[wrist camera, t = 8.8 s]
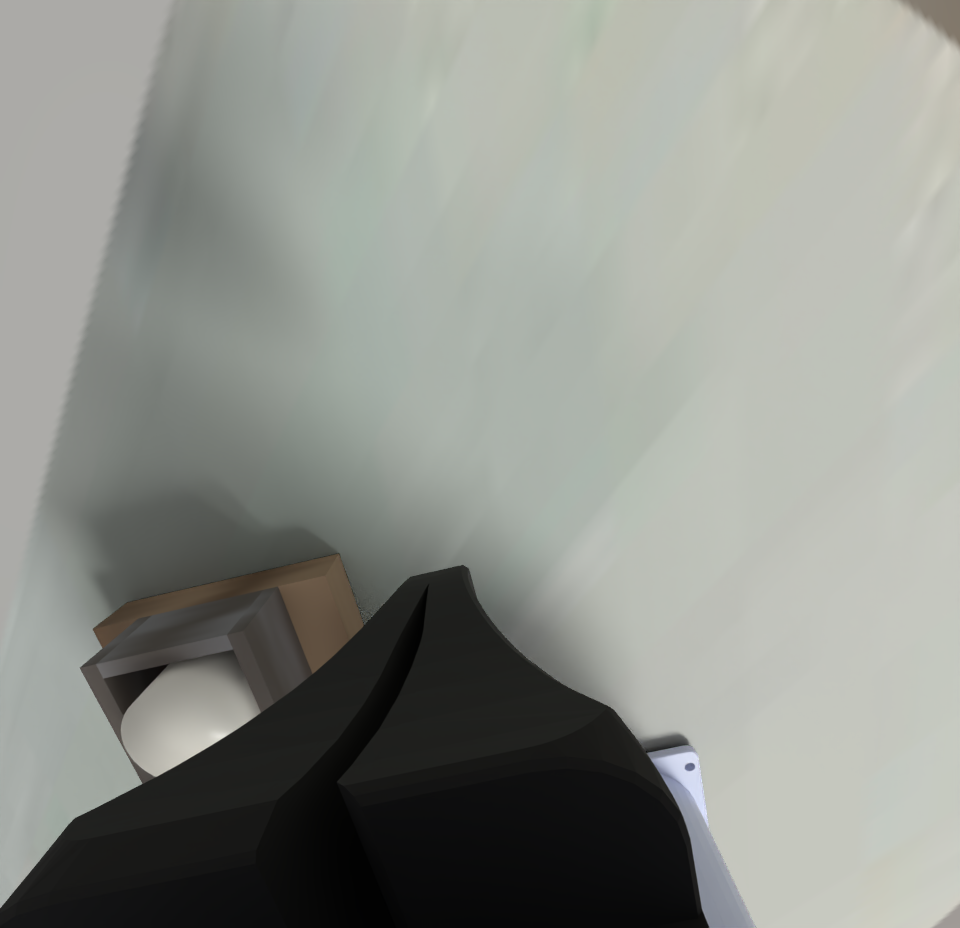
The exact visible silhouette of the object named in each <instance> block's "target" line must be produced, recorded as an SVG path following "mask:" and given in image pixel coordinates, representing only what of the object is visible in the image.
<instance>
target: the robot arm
mask: <svg viewBox="0 0 960 928" xmlns="http://www.w3.org/2000/svg"><path fill="white" fill-rule="evenodd" d="M688 763H689V764H688ZM0 928H756V926H755V924H754V922H753V920H752V918H751V916H750V913H749V911H748V909H747V907H746V905H745V903H744V901H743V899H742V897H741V895H740V893H739V891H738V888H737V886H736V884H735V882H734V880H733V878H732V876H731V874H730V872H729V870H728V868H727V866H726V863H725V861H724V859H723V857H722V855H721V853H720V851H719V849H718V847H717V845H716V843H715V841H714V838H713V836H712V834H711V832H710V830H709V825H708V818H707V811H706V805H705V798H704V791H703V785H702V778H701V771H700V765H699V758H698V755H697V753H696V751H695V749H694V748H693V747H692V746H689V745H684V746H679V747H674V748H669V749H664V750H659V751H654V752H649V753H646V752H645V750H644V749H643V748H642V746H641V745H640V743H639V742H638V741H637V739H636V738H635V736H634V735H633V734H632V733H631V731H630V730H629V729H628V727H627V726H626V725H625V723H624V722H623V721H622V720H621V718H620V717H619V716H618V715H617V713H616V712H615V711H614V710H613V709H612V708H610V707H608V706H607V705H604V704H602V703H600V702H598V701H596V700H594V699H591V698H589V697H587V696H585V695H583V694H580V693H578V692H576V691H574V690H572V689H570V688H568V687H567V686H565V685H563V684H562V683H560V682H558V681H557V680H555V679H554V678H552V677H551V676H550V675H548V674H547V673H546V672H544V671H543V670H542V669H540V668H539V667H538V666H536V665H535V664H534V663H532V662H531V661H530V660H528V659H527V658H526V657H525V656H524V655H523V654H522V653H520V652H519V651H518V650H517V649H516V648H515V647H514V646H513V645H512V644H511V643H510V642H509V641H508V640H507V639H506V638H505V637H504V636H503V634H502V633H501V632H500V631H499V630H498V629H497V627H496V626H495V625H494V624H493V622H492V621H491V620H490V618H489V617H488V616H487V614H486V613H485V611H484V610H483V608H482V606H481V605H480V603H479V601H478V600H477V597H476V593H475V590H474V586H473V582H472V579H471V575H470V571H469V569H468V568H467V567H465V566H464V565H461V566H456V567H452V568H448V569H443V570H439V571H434V572H430V573H426V574H421V575H417V576H412V577H410V578H409V579H407V580H406V581H405V582H404V583H403V584H402V585H401V586H400V587H399V588H398V589H397V591H396V592H395V593H394V594H393V595H392V596H391V597H390V598H389V599H388V600H387V602H386V603H385V604H384V605H383V606H382V607H381V608H380V609H379V610H378V611H377V612H376V614H375V615H374V616H373V617H372V618H371V619H370V620H369V621H368V622H367V623H366V624H365V625H364V626H363V627H362V628H361V629H360V630H359V631H358V632H357V633H356V634H355V635H354V636H353V637H352V638H351V639H350V640H349V641H348V642H347V643H346V644H345V645H344V646H343V647H342V648H341V649H340V650H339V651H338V652H337V653H336V654H335V655H334V656H333V657H332V658H330V659H329V660H328V661H327V662H326V663H325V664H324V665H323V666H321V667H320V668H319V669H318V670H317V671H316V672H314V673H313V674H312V675H311V676H309V677H308V678H307V679H306V680H304V681H303V682H302V683H301V684H300V685H298V686H297V687H296V688H295V689H293V690H292V691H291V692H289V693H288V694H287V695H285V696H284V697H282V698H281V699H280V700H278V701H277V702H275V703H274V704H273V705H271V706H270V707H268V708H267V709H265V710H264V711H263V712H261V713H260V714H258V715H257V716H256V717H254V718H253V719H251V720H250V721H248V722H247V723H246V724H244V725H243V726H241V727H240V728H238V729H237V730H235V731H234V732H232V733H230V734H229V735H227V736H226V737H224V738H222V739H221V740H219V741H218V742H216V743H214V744H213V745H211V746H210V747H208V748H206V749H204V750H203V751H201V752H199V753H198V754H196V755H194V756H192V757H191V758H189V759H187V760H186V761H184V762H182V763H181V764H179V765H177V766H175V767H173V768H172V769H170V770H168V771H166V772H164V773H163V774H161V775H159V776H157V777H155V778H153V779H151V780H149V781H147V782H145V783H144V784H142V785H140V786H138V787H136V788H134V789H132V790H130V791H128V792H126V793H124V794H122V795H120V796H118V797H116V798H114V799H113V800H111V801H109V802H107V803H105V804H103V805H101V806H99V807H97V808H95V809H93V810H91V811H89V812H87V813H85V814H83V815H81V816H79V817H77V818H75V819H74V820H73V821H72V822H71V823H70V824H69V825H68V826H67V827H66V829H65V830H64V831H63V832H62V834H61V835H60V836H59V837H58V839H57V840H56V841H55V842H54V844H53V845H52V846H51V847H50V848H49V850H48V851H47V852H46V853H45V855H44V856H43V857H42V858H41V860H40V861H39V862H38V863H37V865H36V866H35V867H34V868H33V869H32V871H31V872H30V873H29V874H28V876H27V877H26V878H25V879H24V880H23V882H22V883H21V884H20V885H19V886H18V888H17V889H16V890H15V891H14V892H13V894H12V895H11V896H10V897H9V899H8V900H7V901H6V902H5V903H4V905H3V906H2V907H1V908H0Z"/></svg>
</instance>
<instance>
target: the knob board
mask: <svg viewBox="0 0 960 928" xmlns="http://www.w3.org/2000/svg"><path fill="white" fill-rule="evenodd" d="M363 626H364V624H363V621H362V618H361V615H360V612H359V609H358V606H357V604H356V601H355V598H354V595H353V592H352V589H351V586H350V583H349V581H348V578H347V575H346V572H345V569H344V566H343V563H342V561H341V558H340V555H339V554H335V555H330V556H326V557H322V558H317V559H313V560H309V561H305V562H300V563H296V564H292V565H287V566H283V567H279V568H274V569H270V570H266V571H261V572H257V573H253V574H248V575H244V576H240V577H235V578H231V579H227V580H222V581H218V582H214V583H210V584H205V585H201V586H197V587H192V588H188V589H184V590H179V591H175V592H171V593H166V594H162V595H158V596H153V597H149V598H145V599H140V600H136V601H132V602H127V603H126V604H124V605H123V606H122V607H121V608H119V609H118V610H117V611H115V612H114V613H113V614H111V615H110V616H109V617H108V618H106V619H105V620H104V621H102V622H101V623H100V624H98V625H97V626H96V627H95V628H93V631H94V633H95V635H96V636H97V638H98V640H99V642H100V644H101V646H102V648H103V649H102V650H100V651H99V652H98V653H97V654H96V655H95V656H93V657H92V658H91V659H90V660H89V661H87V662H86V663H85V664H84V665H83V666H82V667H80V669H81V671H82V673H83V675H84V677H85V679H86V680H87V682H88V684H89V686H90V688H91V690H92V691H93V693H94V695H95V697H96V699H97V701H98V702H99V704H100V706H101V708H102V710H103V712H104V713H105V715H106V717H107V719H108V721H109V723H110V724H111V726H112V728H113V730H114V732H115V734H116V735H117V737H118V739H119V741H120V743H121V745H122V747H123V748H124V750H125V752H126V754H127V756H128V758H129V759H130V761H131V763H132V765H133V767H134V769H135V770H136V772H137V774H138V776H139V778H140V780H141V781H142V783H143V784H144V783H145V782H147V781H149V780H151V779H153V778H155V776H153V775H151V774H149V773H148V772H146V771H145V770H143V769H142V768H141V767H139V766H138V765H137V764H136V763H135V762H134V761H133V759H132V758H131V757H130V756H129V754H128V752H127V751H126V749H125V747H124V744H123V741H122V737H121V724H122V719H123V717H124V714H125V713H126V711H127V709H128V708H129V707H130V706H131V705H132V703H133V702H134V701H135V700H136V699H137V698H138V697H139V696H140V695H141V694H142V693H143V692H144V690H145V689H146V688H147V687H148V686H149V685H150V684H151V683H152V682H153V681H154V680H155V679H156V677H157V676H158V675H159V674H160V673H161V672H162V671H163V670H164V669H165V668H166V667H167V666H168V665H169V664H171V663H175V662H179V661H184V660H188V659H193V658H197V657H202V656H206V655H211V654H215V653H220V652H224V651H229V650H234V652H235V655H236V657H237V659H238V662H239V664H240V666H241V668H242V671H243V673H244V675H245V678H246V680H247V682H248V684H249V687H250V689H251V691H252V693H253V696H254V698H255V700H256V703H257V705H258V707H259V709H260V712H263V711H264V710H265V709H267V708H268V707H270V706H271V705H273V704H274V703H275V702H277V701H278V700H280V699H281V698H282V697H284V696H285V695H287V694H288V693H289V692H291V691H292V690H293V689H295V688H296V687H297V686H298V685H300V684H301V683H302V682H303V681H304V680H306V679H307V678H308V677H309V676H311V675H312V674H313V673H314V672H316V671H317V670H318V669H319V668H320V667H321V666H323V665H324V664H325V663H326V662H327V661H328V660H329V659H330V658H332V657H333V656H334V655H335V654H336V653H337V652H338V651H339V650H340V649H341V648H342V647H343V646H344V645H345V644H346V643H347V642H348V641H349V640H350V639H351V638H352V637H353V636H354V635H355V634H356V633H357V632H358V631H359V630H360V629H361V628H362V627H363Z"/></svg>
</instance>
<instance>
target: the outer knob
mask: <svg viewBox="0 0 960 928" xmlns="http://www.w3.org/2000/svg"><path fill="white" fill-rule="evenodd" d="M260 713H261V712H260V709H259V707H258V705H257V703H256V700H255V698H254V696H253V693H252V691H251V689H250V687H249V684H248V682H247V680H246V678H245V675H244V673H243V671H242V668H241V666H240V664H239V662H238V659H237V657H236V655H235V652H234V650H229V651H224V652H220V653H215V654H211V655H206V656H202V657H197V658H193V659H188V660H184V661H179V662H175V663H171V664H169V665H168V666H167V667H166V668H165V669H164V670H163V671H162V672H161V673H160V674H159V675H158V676H157V677H156V679H155V680H154V681H153V682H152V683H151V684H150V685H149V686H148V687H147V688H146V689H145V690H144V692H143V693H142V694H141V695H140V696H139V697H138V698H137V699H136V700H135V701H134V702H133V703H132V705H131V706H130V707H129V708H128V709H127V711H126V713H125V714H124V717H123V719H122V724H121V737H122V741H123V744H124V747H125V749H126V751H127V752H128V754H129V756H130V757H131V758H132V759H133V761H134V762H135V763H136V764H137V765H138V766H139V767H141V768H142V769H143V770H145V771H146V772H148V773H149V774H151V775H153V776H155V777H157V776H159V775H161V774H163V773H164V772H166V771H168V770H170V769H172V768H173V767H175V766H177V765H179V764H181V763H182V762H184V761H186V760H187V759H189V758H191V757H192V756H194V755H196V754H198V753H199V752H201V751H203V750H204V749H206V748H208V747H210V746H211V745H213V744H214V743H216V742H218V741H219V740H221V739H222V738H224V737H226V736H227V735H229V734H230V733H232V732H234V731H235V730H237V729H238V728H240V727H241V726H243V725H244V724H246V723H247V722H248V721H250V720H251V719H253V718H254V717H256V716H257V715H258V714H260Z"/></svg>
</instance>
